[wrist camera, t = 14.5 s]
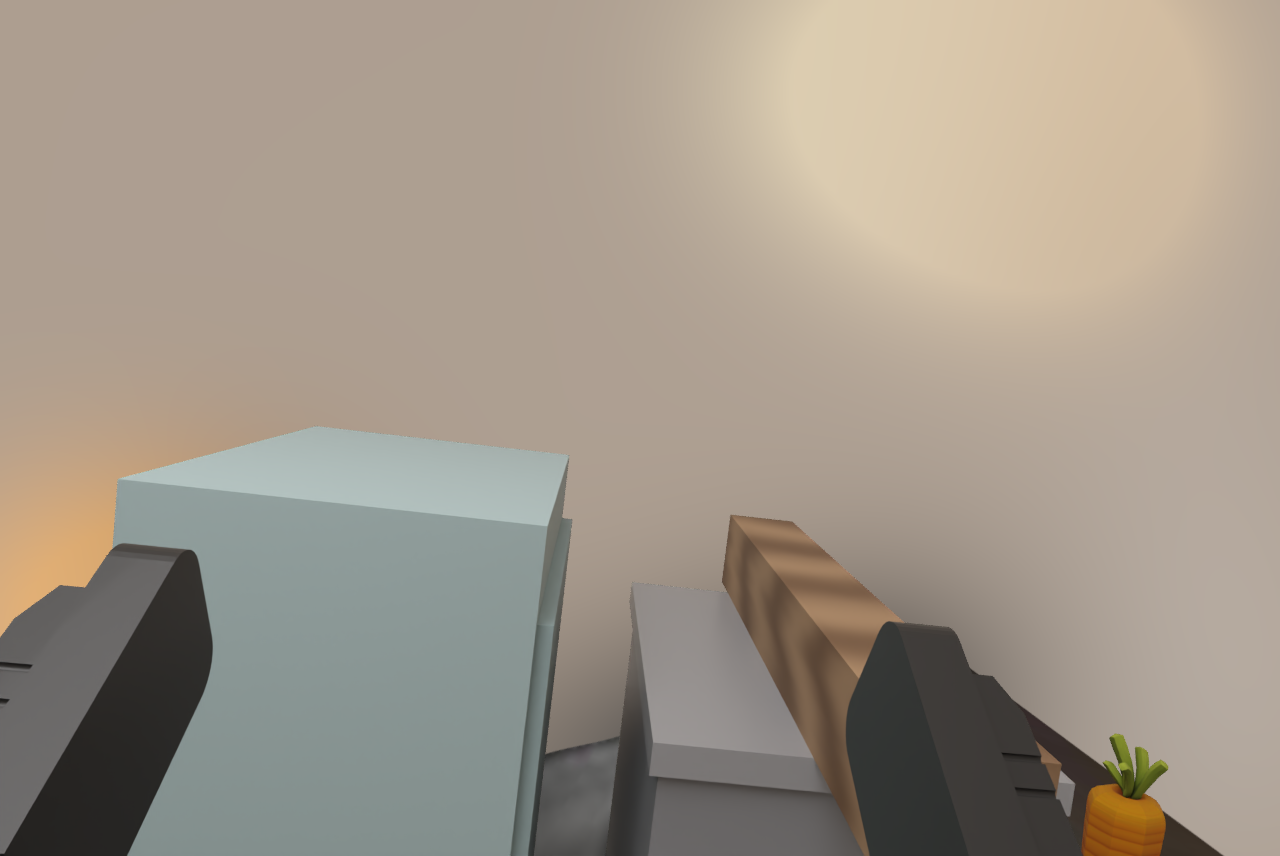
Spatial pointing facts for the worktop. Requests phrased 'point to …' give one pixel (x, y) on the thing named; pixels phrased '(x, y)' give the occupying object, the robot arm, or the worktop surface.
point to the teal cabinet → (362, 644)
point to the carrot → (1125, 808)
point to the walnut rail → (810, 638)
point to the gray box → (715, 743)
